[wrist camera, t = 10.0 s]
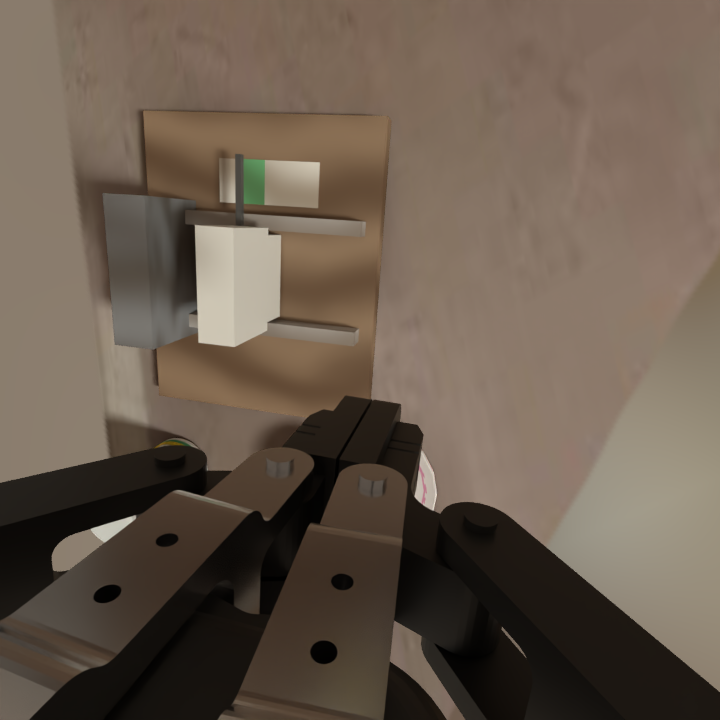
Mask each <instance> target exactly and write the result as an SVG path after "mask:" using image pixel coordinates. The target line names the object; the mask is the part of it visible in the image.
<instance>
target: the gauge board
mask: <svg viewBox="0 0 720 720" xmlns="http://www.w3.org/2000/svg"><path fill="white" fill-rule="evenodd" d="M143 116H144V134H145V152H146V170H147V187H148V196H143V195H127V194H110V193H102V194H103V206H104V218H105V231H106V243H107V255H108V267H109V280H110V292H111V304H112V317H113V329H114V341H115V345H121V346H129V347H137V348H145V349H152V350H153V349H156V348H157V364H158V382H159V395H160V396H167V397H174V398H180V399H187V400H194V401H200V402H207V403H214V404H220V405H227V406H233V407H240V408H247V409H253V410H260V411H267V412H273V413H280V414H287V415H293V416H300V417H306V418H308V417H309V415H311V414H314V413H316V412H318V411H320V410H323V409H325V410H331V411H334V409H335V408H336V407H337V405H338V404H339V403H340V401H341V400H342V399H343V398H344V396H345V395H347V396H354V397H360V398H366V399H371V389H372V376H373V362H374V349H375V335H376V322H377V308H378V295H379V281H380V268H381V254H382V241H383V227H384V214H385V200H386V187H387V173H388V160H389V146H390V133H391V120H390V118H389V117H388V116H363V115H318V114H274V113H229V112H184V111H143ZM235 154H242V155H244V226H249V227H263V228H268V234H276V235H281V270H280V317H277V318H275V319H273V320H271V321H269V322H267V331H265V332H263V333H262V334H260V335H258V336H256V337H254V338H252V339H250V340H248V341H246V342H244V343H242V344H240V345H238V346H236V347H229V346H221V345H213V344H205V343H199V342H198V310H197V278H196V246H195V225H234V226H236V203H235Z"/></svg>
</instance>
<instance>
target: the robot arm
mask: <svg viewBox="0 0 720 720" xmlns="http://www.w3.org/2000/svg"><path fill="white" fill-rule="evenodd" d="M400 416H401V404H398V403H391V402H385V401H379V400H372V399H366V398H360V397H354V396H347V395H345V396H344V398H343V399H342V400H341V401H340V403H339V404H338V405H337V407H336V408H335V409H334V411H331V410H325V409H323V410H320V411H318V412H316V413H314V414H311V415H309V417H308V418H307V419H306V420H305V421H304V422H303V423H302V425H301V426H300V427H299V428H298V429H297V430H296V432H295V433H294V434H293V435H292V436H291V437H290V438H289V440H288V441H287V442H286V443H285V444H284V445H283V447H276V448H268V449H263V450H260V451H258V452H256V453H254V454H252V455H251V456H250V457H248V458H247V459H246V460H245V461H244V462H243V463H241V464H240V465H239V466H238V467H237V468H236V469H234V470H233V471H207V457H206V455H205V453H204V452H203V451H201V450H199V449H197V448H195V447H191V446H184V445H170V446H163V447H158V448H153V449H149V450H144V451H140V452H135V453H131V454H127V455H122V456H118V457H113V458H109V459H104V460H100V461H96V462H91V463H87V464H82V465H78V466H73V467H69V468H64V469H60V470H56V471H52V472H47V473H42V474H39V475H33V476H29V477H25V478H20V479H16V480H11V481H7V482H2V483H0V720H447V719H446V718H445V716H444V715H443V713H442V712H441V710H440V709H439V708H438V706H437V705H436V704H435V702H434V701H433V700H432V698H431V697H430V696H429V695H428V694H427V693H426V691H425V690H424V689H423V688H422V687H421V686H420V685H419V684H418V683H417V682H416V681H415V680H414V679H412V678H411V677H410V676H409V675H408V674H407V673H405V672H404V671H403V670H401V669H400V668H398V667H397V666H395V665H394V664H393V663H391V662H390V654H391V644H392V635H393V625H394V621H396V622H398V623H400V624H401V625H403V626H405V627H407V628H409V629H410V630H412V631H414V632H416V633H417V634H419V635H421V636H422V639H421V646H422V651H423V654H424V656H425V658H426V660H427V661H428V663H429V664H430V666H431V667H432V669H433V671H434V672H435V674H436V675H437V677H438V678H439V680H440V681H441V683H442V684H443V686H444V687H445V689H446V690H447V692H448V694H449V695H450V697H451V698H452V700H453V701H454V703H455V704H456V706H457V707H458V709H459V710H460V712H461V713H462V714H463V717H464V718H465V720H720V692H719V691H718V690H717V689H715V688H714V687H713V686H712V685H710V684H709V683H708V682H707V681H706V680H705V679H703V678H702V677H701V676H700V675H698V674H697V673H696V672H695V671H694V670H693V669H691V668H690V667H689V666H688V665H687V664H685V663H684V662H683V661H682V660H681V659H679V658H678V657H677V656H676V655H674V654H673V653H672V652H671V651H670V650H669V649H667V648H666V647H665V646H664V645H663V644H661V643H660V642H659V641H658V640H656V639H655V638H654V637H653V636H652V635H651V634H649V633H648V632H647V631H646V630H644V629H643V628H642V627H641V626H640V625H638V624H637V623H636V622H635V621H634V620H633V619H631V618H630V617H629V616H628V615H627V614H625V613H624V612H623V611H622V610H620V609H619V608H618V607H617V606H616V605H615V604H613V603H612V602H611V601H610V600H609V599H607V598H606V597H605V596H604V595H603V594H601V593H600V592H599V591H598V590H596V589H595V588H594V587H593V586H592V585H591V584H589V583H588V582H587V581H586V580H585V579H583V578H582V577H581V576H580V575H578V574H577V573H576V572H575V571H574V570H573V569H571V568H570V567H569V566H568V565H567V564H565V563H564V562H563V561H562V560H561V559H559V558H558V557H557V556H556V555H555V554H553V553H552V552H551V551H550V550H549V549H547V548H546V547H545V546H544V545H543V544H541V543H540V542H539V541H538V540H537V539H535V538H534V537H533V536H532V535H531V534H529V533H528V532H527V531H526V530H525V529H523V528H522V527H521V526H520V525H519V524H517V523H516V522H515V521H514V520H513V519H511V518H510V517H509V516H508V515H506V514H505V513H503V512H501V511H500V510H498V509H495V508H493V507H490V506H487V505H484V504H480V503H473V502H460V503H455V504H452V505H449V506H447V507H446V508H445V509H443V511H442V512H441V514H439V513H437V512H435V511H433V510H431V509H429V508H427V507H425V506H424V505H423V504H421V503H420V502H419V501H418V500H417V499H416V498H415V497H414V496H415V492H416V487H417V480H418V472H419V465H420V457H421V450H422V442H423V433H422V431H421V430H420V428H419V427H418V425H415V424H409V423H403V422H400ZM135 515H136V519H135V520H134V521H132V522H131V523H130V524H129V525H127V526H126V527H125V528H123V529H122V530H121V531H119V532H118V533H117V534H116V535H114V536H113V537H112V538H110V539H109V540H108V541H106V542H105V543H104V544H103V545H101V546H100V547H99V548H97V549H96V550H95V551H93V552H92V553H91V554H90V555H88V556H87V557H86V558H84V559H83V560H82V561H81V562H79V563H78V564H77V565H75V566H74V567H73V568H72V569H70V570H67V571H62V572H57V571H53V568H52V561H51V560H52V557H51V556H52V553H53V550H54V548H55V547H56V546H57V545H58V543H59V542H61V541H62V540H63V539H65V538H66V537H68V536H70V535H72V534H75V533H78V532H82V531H85V530H88V529H92V528H95V527H98V526H102V525H105V524H108V523H112V522H115V521H118V520H122V519H125V518H128V517H131V516H135ZM502 627H503V628H504V629H505V630H506V631H507V632H508V634H509V635H510V636H511V637H512V638H513V639H514V640H515V642H516V643H517V644H518V645H519V646H520V648H521V649H522V651H523V652H524V654H525V656H526V658H527V659H526V658H525V656H524V655H523V654H522V653H521V652H520V651H519V650H518V648H517V647H516V646H515V645H514V644H513V643H512V641H511V640H510V639H509V638H508V637H507V636H506V635H505V633H504V632H503V631H502V630H501V629H502Z"/></svg>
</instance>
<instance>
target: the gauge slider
mask: <svg viewBox="0 0 720 720" xmlns="http://www.w3.org/2000/svg"><path fill="white" fill-rule="evenodd" d="M235 203H236V226H234V225H195V246H196V278H197V310H198V342H199V343H205V344H213V345H221V346H229V347H236V346H238V345H240V344H242V343H244V342H246V341H248V340H250V339H252V338H254V337H256V336H258V335H260V334H262V333H263V332H265V331H267V322H269V321H271V320H273V319H275V318H277V317H280V270H281V235H276V234H268V228H263V227H249V226H244V155H242V154H235Z"/></svg>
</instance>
